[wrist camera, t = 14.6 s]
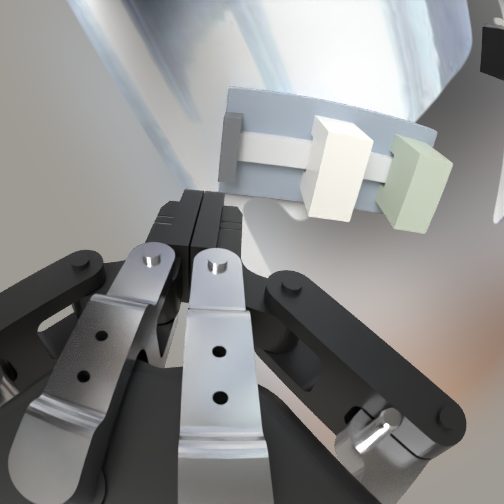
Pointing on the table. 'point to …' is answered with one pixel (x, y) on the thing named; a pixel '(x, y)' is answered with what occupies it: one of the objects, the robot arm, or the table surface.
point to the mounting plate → (299, 145)
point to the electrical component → (493, 49)
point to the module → (334, 168)
